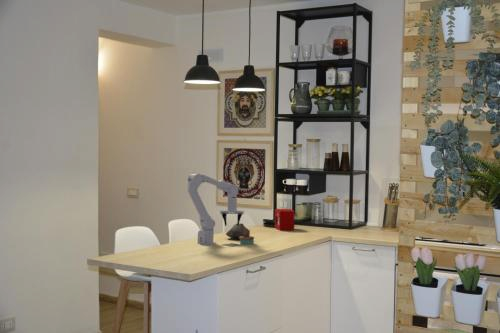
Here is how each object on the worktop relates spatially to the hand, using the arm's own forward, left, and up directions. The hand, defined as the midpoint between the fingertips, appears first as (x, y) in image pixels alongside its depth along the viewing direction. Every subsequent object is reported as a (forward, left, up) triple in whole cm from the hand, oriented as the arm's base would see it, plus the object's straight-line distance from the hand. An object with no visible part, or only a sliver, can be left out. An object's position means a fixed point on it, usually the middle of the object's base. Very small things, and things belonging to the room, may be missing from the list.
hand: (231, 225), depth 382 cm
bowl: (+1, -12, -10) cm, 16 cm away
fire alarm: (+76, +20, -11) cm, 79 cm away
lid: (+1, -12, -7) cm, 14 cm away
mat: (-10, -10, -10) cm, 17 cm away
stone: (+12, +6, -11) cm, 17 cm away
